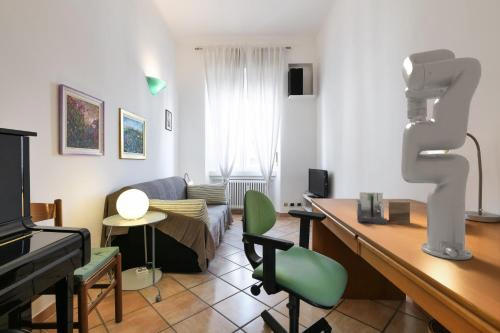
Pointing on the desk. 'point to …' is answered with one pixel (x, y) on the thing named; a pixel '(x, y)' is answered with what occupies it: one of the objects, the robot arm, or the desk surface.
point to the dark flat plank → (372, 207)
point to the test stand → (369, 208)
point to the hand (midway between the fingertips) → (417, 151)
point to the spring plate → (380, 210)
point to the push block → (399, 212)
